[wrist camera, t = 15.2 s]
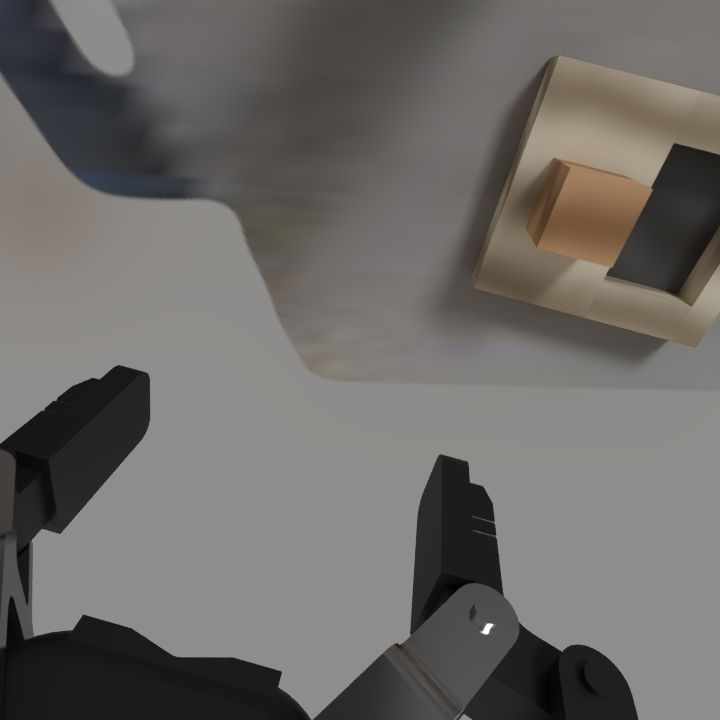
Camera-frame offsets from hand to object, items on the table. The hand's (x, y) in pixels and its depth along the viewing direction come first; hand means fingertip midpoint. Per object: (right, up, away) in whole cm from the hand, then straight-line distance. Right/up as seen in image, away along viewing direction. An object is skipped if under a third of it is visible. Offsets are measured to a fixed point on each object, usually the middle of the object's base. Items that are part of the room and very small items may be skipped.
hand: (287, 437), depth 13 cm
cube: (+17, +13, +21) cm, 30 cm away
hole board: (+22, +14, +23) cm, 35 cm away
